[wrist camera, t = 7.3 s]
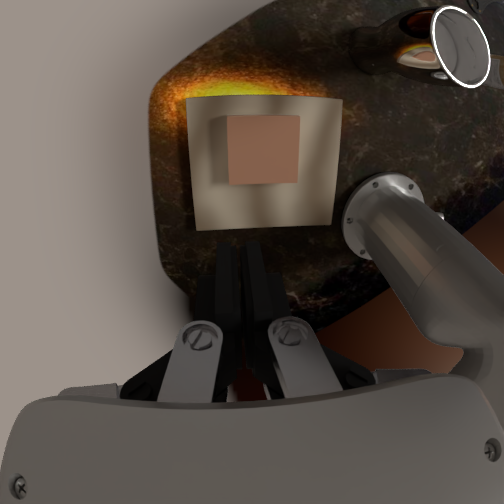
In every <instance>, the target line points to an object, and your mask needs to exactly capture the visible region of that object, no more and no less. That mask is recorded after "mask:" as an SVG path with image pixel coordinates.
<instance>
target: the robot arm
mask: <svg viewBox="0 0 504 504" xmlns="http://www.w3.org/2000/svg"><path fill="white" fill-rule="evenodd" d="M341 228H342V233H343V237H344V239H345V241H346V243H347V245H348V246H349V248H350V249H351V250H352V251H353V252H354V253H355V254H357V255H358V256H360V257H362V258H365V259H370V260H373V261H374V262H375V264H376V265H377V267H378V268H379V270H380V271H381V272H382V274H383V275H384V277H385V278H386V280H387V281H388V283H389V284H390V286H391V287H392V289H393V290H394V292H395V293H396V295H397V296H398V298H399V299H400V301H401V302H402V304H403V305H404V307H405V309H406V310H407V312H408V313H409V315H410V317H411V318H412V320H413V321H414V323H415V324H416V326H417V328H418V329H419V331H420V332H421V333H422V334H423V335H424V337H426V338H427V339H428V340H430V341H431V342H433V343H435V344H438V345H442V346H447V347H458V348H462V349H463V351H464V354H463V357H462V358H461V360H460V361H459V362H458V363H457V364H456V365H455V366H454V367H453V369H452V370H451V371H450V372H449V373H448V374H446V373H434V374H432V373H431V372H429V371H428V370H425V369H376V371H375V372H370V371H369V370H368V369H366V368H365V367H363V366H361V365H359V364H357V363H356V362H354V361H352V360H350V359H348V358H346V357H344V356H342V355H340V354H338V353H336V352H335V351H333V350H331V349H329V348H327V347H325V346H323V345H322V344H320V343H319V342H318V340H317V338H316V336H315V334H314V332H313V330H312V328H311V327H310V325H309V324H308V323H307V322H305V321H304V320H302V319H299V318H297V317H292V315H291V311H290V307H289V303H288V299H287V295H286V291H285V288H284V284H283V280H282V276H281V273H280V272H276V273H265V268H264V262H263V257H262V252H261V247H260V242H259V241H250V242H245V245H240V262H241V305H242V318H243V330H244V342H245V354H246V364H247V369H252V371H253V376H255V378H257V379H258V380H260V381H261V382H263V383H264V389H265V393H266V395H267V399H268V400H263V401H248V402H227V395H228V386H229V385H230V384H231V383H232V382H233V381H234V380H235V379H236V378H237V372H236V369H242V344H241V310H240V296H239V281H238V267H237V252H236V246H231V242H221V243H217V256H216V275H199V276H198V284H197V294H196V304H195V314H194V322H191V323H189V324H187V325H185V326H184V327H183V328H182V329H181V330H180V331H179V334H178V336H177V339H176V342H175V345H174V348H173V349H172V350H171V351H169V352H168V353H167V354H165V355H164V356H162V357H161V358H160V359H158V360H157V361H155V362H154V363H153V364H151V365H149V366H148V367H147V368H145V369H144V370H142V371H141V372H139V373H138V374H136V375H135V376H133V377H132V378H131V379H129V380H128V381H127V382H126V383H125V384H124V385H121V386H117V384H116V383H113V384H104V385H95V386H84V387H71V388H67V389H64V390H63V391H61V392H60V394H59V395H58V396H52V397H47V398H42V399H39V400H36V401H33V402H31V403H29V404H28V405H26V406H25V407H24V408H23V409H22V410H21V412H20V413H19V415H18V417H17V418H16V420H15V423H14V425H13V427H12V430H11V432H10V435H9V438H8V441H7V445H6V448H5V452H4V456H3V460H2V465H1V470H0V504H504V275H503V274H502V273H501V272H500V271H499V270H498V269H497V268H496V267H495V266H494V265H493V264H492V263H491V262H490V261H489V260H488V259H487V258H485V257H484V256H483V255H482V254H481V253H480V252H479V251H478V250H477V249H476V248H475V247H474V246H473V245H472V244H471V243H470V242H469V241H467V240H466V239H465V238H464V237H463V236H462V235H461V234H460V233H459V232H458V231H456V230H455V229H454V228H453V227H452V226H451V225H449V224H448V223H447V222H446V221H445V220H444V216H443V214H442V213H441V212H434V211H433V210H431V209H430V208H429V207H428V206H426V205H425V204H424V200H423V195H422V193H421V191H420V189H419V187H418V186H417V185H416V183H415V182H413V181H412V180H411V179H410V178H408V177H406V176H405V175H403V174H400V173H397V172H384V173H379V174H376V175H374V176H371V177H370V178H368V179H366V180H365V181H363V182H362V183H361V184H360V185H359V186H358V187H357V188H356V189H355V190H354V191H353V193H352V194H351V195H350V197H349V199H348V201H347V202H346V205H345V207H344V210H343V214H342V219H341Z"/></svg>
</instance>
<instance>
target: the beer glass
mask: <svg viewBox="0 0 504 504" xmlns="http://www.w3.org/2000/svg"><path fill="white" fill-rule="evenodd" d="M348 49H349V53H350V56H351V58H352V60H353V62H354V63H355V64H356V66H357V67H358V68H360V69H361V70H362V71H364V72H366V73H368V74H371V75H383V74H386V73H388V72H392V73H396V74H398V75H401V76H404V77H406V78H409V79H412V80H415V81H418V82H422V83H427V84H432V85H439V86H450V87H464V88H476V87H479V86H480V85H482V84H483V83H484V81H485V80H486V78H487V76H488V73H489V70H490V51H489V47H488V43H487V40H486V37H485V35H484V33H483V31H482V29H481V28H480V26H479V25H478V23H477V22H476V21H475V20H474V18H473V17H472V16H471V15H470V14H468V13H467V12H466V11H464V10H463V9H461V8H459V7H456V6H453V5H445V6H430V7H421V8H415V9H411V10H407V11H404V12H401V13H399V14H397V15H395V16H393V17H392V18H390V19H389V20H387V21H385V22H384V23H383V24H381V25H380V26H378V27H372V26H366V27H361V28H359V29H357V30H355V31H354V32H353V33H352V35H351V37H350V39H349V43H348Z"/></svg>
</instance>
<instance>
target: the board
mask: <svg viewBox="0 0 504 504" xmlns="http://www.w3.org/2000/svg"><path fill="white" fill-rule="evenodd" d="M186 111H187V128H188V143H189V157H190V169H191V181H192V192H193V202H194V212H195V221H196V230H197V231H202V230H219V229H238V228H259V227H282V226H308V225H331V221H332V213H333V205H334V197H335V188H336V178H337V168H338V158H339V146H340V133H341V118H342V100H341V99H334V98H323V97H310V96H293V95H224V96H206V97H193V98H186ZM233 114H296V115H298V116H300V140H299V162H298V181H297V183H268V184H239V185H229V171H228V143H227V115H233Z"/></svg>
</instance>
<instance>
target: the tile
mask: <svg viewBox="0 0 504 504" xmlns="http://www.w3.org/2000/svg"><path fill="white" fill-rule="evenodd" d="M299 140H300V116H298V115H296V114H233V115H227V143H228V171H229V185H239V184H268V183H297V181H298V162H299Z"/></svg>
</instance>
